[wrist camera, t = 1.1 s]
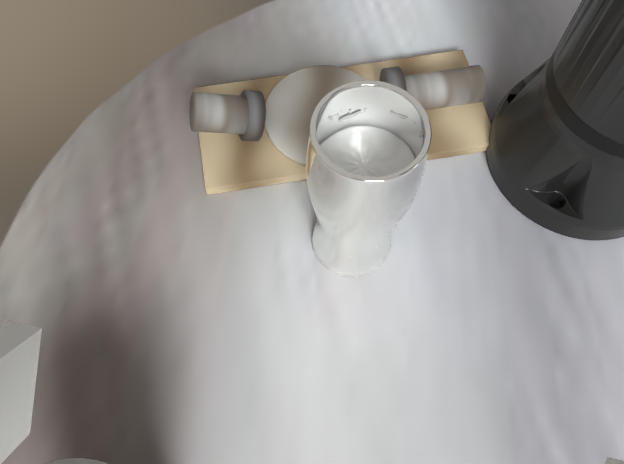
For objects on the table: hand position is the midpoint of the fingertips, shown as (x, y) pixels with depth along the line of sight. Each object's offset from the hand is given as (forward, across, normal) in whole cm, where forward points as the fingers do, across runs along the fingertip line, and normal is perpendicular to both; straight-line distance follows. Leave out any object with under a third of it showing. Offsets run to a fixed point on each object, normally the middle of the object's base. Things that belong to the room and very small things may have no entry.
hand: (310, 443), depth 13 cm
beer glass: (+32, +2, -3) cm, 32 cm away
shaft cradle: (+38, -1, +6) cm, 38 cm away
